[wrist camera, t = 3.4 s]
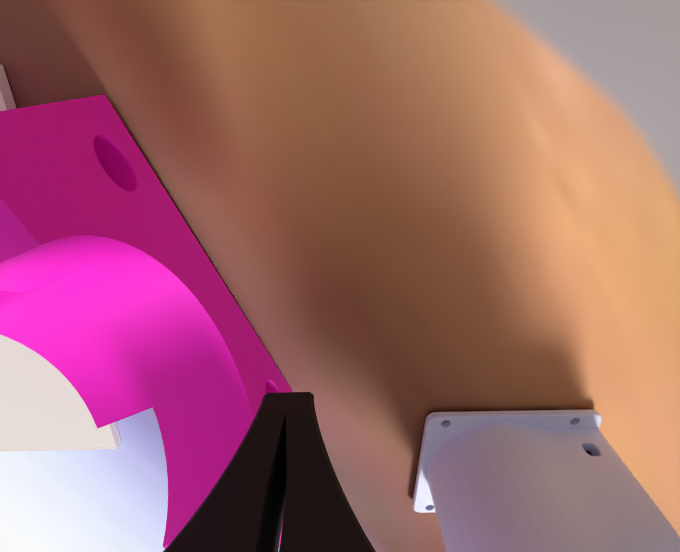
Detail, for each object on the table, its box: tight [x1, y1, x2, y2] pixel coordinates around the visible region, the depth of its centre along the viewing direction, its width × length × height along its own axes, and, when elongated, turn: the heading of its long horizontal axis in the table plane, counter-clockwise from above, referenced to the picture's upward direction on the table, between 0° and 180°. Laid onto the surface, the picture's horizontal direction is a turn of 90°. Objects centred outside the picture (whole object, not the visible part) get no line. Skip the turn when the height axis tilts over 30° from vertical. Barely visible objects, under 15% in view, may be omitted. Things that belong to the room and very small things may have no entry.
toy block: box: [0, 94, 292, 549], centre depth 15 cm, size 15×6×8 cm, turn 22°
